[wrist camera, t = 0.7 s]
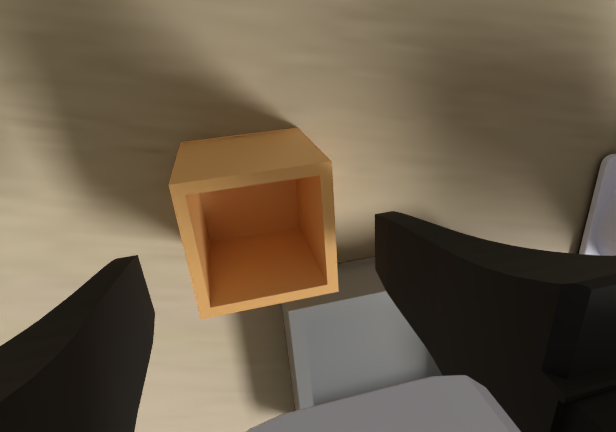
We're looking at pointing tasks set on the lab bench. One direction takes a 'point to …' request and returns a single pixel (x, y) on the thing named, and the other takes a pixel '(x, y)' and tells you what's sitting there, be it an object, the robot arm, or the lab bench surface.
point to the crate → (351, 340)
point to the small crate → (255, 219)
